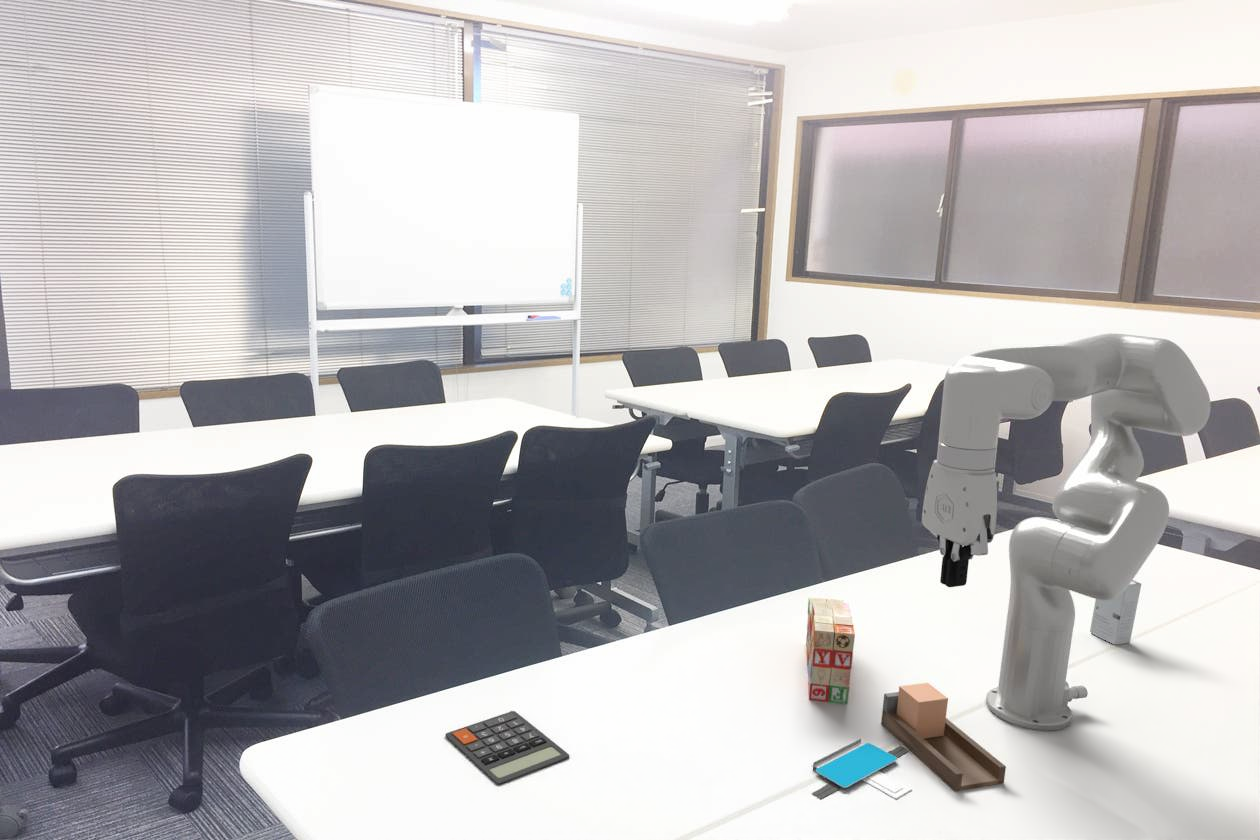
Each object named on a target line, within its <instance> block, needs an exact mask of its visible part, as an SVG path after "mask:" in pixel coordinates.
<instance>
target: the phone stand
mask: <svg viewBox="0 0 1260 840" xmlns="http://www.w3.org/2000/svg"><path fill="white" fill-rule="evenodd" d="M909 751H910V750H909V749H908V748H905V747H903V746H901V745H899V746H897V747H895V748H894V749H892V750H889V751H885V750H884V749H882V748H881V747H878V746H876V745H874V744H873V743H869V742H866V743H862V739H861V738H859V739H857V740H856V741H854V742H852V743H850V744H848V745H845V746H843V747H842V748H839V749H838V750H836V751H834V752H832V753H829V754H827V755H826V756H823V757H822V758H820V759H818V760H815V761H814V762H813V764H811V763H810V764H811V768H812V770H815V772H816V773H817V774H819V776H821V777H822V778H823V779H822V781H823V782H826V783H827V784H826V785H824V786H822V787H821V788H819V789H817V790H815V791H813V792H811V794H812V795H814V796H815V797H817V798H819V799H820V800H821V799H823V798H826V797H827V796H829V795H833V794H834V793H836V792H838V791H840V790H841V789H846V788H849V787H850V786H853V785H855V784H856V783H858V782H860V781H863V782H864V783H866V784H867V785H869V786H871V787H874V788H875V789H876V790H879V791H880V792H882V793H884V794H885V795H887V796H889V797H891V798H892V799H894V800H897V799H899V798H901V797H903V796H904V795H906V794H908V793H909V792H911V791H912V790H913V789H912V788H911V787H909V786H907V785H905V784H904V783H901V782H899V781H898V780H895V779H894V778H892V777H890V776H889V775H888V774H885V773H883V772H882V771H880V770H881V769H883V768H885V767H887V766H889V765H890V764H893V763H894V762H896V761H898V758H900V757H902V755H904V754H906V753H907V752H909Z"/></svg>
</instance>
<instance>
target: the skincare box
mask: <svg viewBox="0 0 1260 840" xmlns="http://www.w3.org/2000/svg"><path fill="white" fill-rule="evenodd" d="M1141 588H1142V582H1139V581H1137V580H1135V579H1133V580H1132V581H1131V583H1130V584H1129V585H1128V587H1127V588H1126V589H1125V591H1124V592H1123V593H1122V594H1121V595H1119V596H1118V597H1117V598H1115V599H1112V600H1098V599H1095V601H1094V607H1093V613H1092V617H1091V624H1090V628H1089V633H1090V632H1091V633H1090V634H1092V635H1094V636H1096V637H1098V638H1099V639H1102V640H1103V641H1105V640H1106V641H1105V642H1108V643H1109V642H1110V644H1111V643H1112V645H1124V644H1128V643H1130V642H1131V639H1132V634H1133V629H1134V623H1135V619H1136V613H1137V609H1138V603H1139V599H1140V593H1141Z"/></svg>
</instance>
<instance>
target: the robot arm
mask: <svg viewBox="0 0 1260 840" xmlns="http://www.w3.org/2000/svg"><path fill="white" fill-rule="evenodd" d="M1089 396H1091V397H1090V419H1091V420H1090V422H1091V423H1090V426H1091V431H1090V432H1091V433H1090V435H1091V436H1090V441H1089V444H1088V447H1087V449H1086V450H1085V452H1084V453H1083V455H1082V456H1081V457H1080V458H1079V460H1078V461H1077V463H1076V464H1075V465H1074V467H1073V468H1072V469H1071V470H1070V472H1069V474H1068V475H1067V476H1066V478H1065V479H1064V481H1063V482H1062V483H1061V484H1060V486H1059V488H1058V490H1057V491H1056V493H1055V494H1054V497H1053V500H1052V504H1051V505H1052V512H1053V514H1054V515H1055V517H1056V518H1057V519H1055V518H1050V517H1045V516H1044V517H1043V516H1033V517H1028V518H1026V519H1025V518H1024V519H1023V520H1021V521H1020V522H1018V524H1016V525H1015V526H1014V528H1013V530H1012V532H1011V535H1010V537H1009V542H1008V543H1009V544H1008V559H1009V568H1010V569H1009V571H1010V588H1009V589H1010V590H1009V600H1008V606H1007V607H1008V608H1007V617H1006V621H1005V623H1006V624H1005V630H1004V640H1003V647H1002V654H1001V655H1002V656H1001V663H1000V671H999V677H998V679H999V680H998V686H996V687H993V688H992V689H989V690H988V692H987V693H986V697H985V698H986V700H985V703H986V706H987V708H988V709H989V710H990V711H991V712H992V713H993V714H994V715H995V716H997V717H998V718H1000V719H1002V720H1004V721H1007V723H1011V724H1013V725H1015V726H1019V727H1023V728H1026V729H1031V730H1037V731H1057V730H1063V729H1064V728H1066V727H1069V725H1070V724H1072V723H1071V722H1072V720H1073V712H1072V710H1071V708H1070V706H1069V705H1068V704H1069V702H1071V701H1072V700H1077V699H1078V700H1079V699H1085V698H1087V697H1088V695H1089V693H1088V690H1087V687H1086V686H1084V685H1075V686H1071V687H1069V686H1070V685H1069V683H1068V682H1067V674H1068V666H1069V661H1070V653H1071V645H1072V639H1073V631H1074V626H1075V619H1076V608H1075V602H1074V599H1073V597H1072V593H1071V592H1074V593H1077V594H1079V595H1083V596H1086V597H1088V598H1092V599H1095V600H1096V599H1098V600H1112V599H1115V598H1117V597H1118V596H1119V595H1121V594H1122V593H1123V592H1124V591H1125V589H1126V588H1127V587H1128V585H1129V584H1130V583H1131V581H1132V580H1134V579H1135V577H1136V575H1137V574H1138V572H1139V571H1140V569H1141V568H1142V567H1143V565H1144V564H1145V563H1146V561H1147V559H1148V558H1149V557H1150V555H1151V554H1152V552H1153V550H1154V549H1155V547H1157V545H1158V543H1159V542H1160V540H1161V538H1162V536H1163V534H1164V533H1165V530H1166V528H1167V525H1168V521H1169V515H1170V505H1169V501H1168V498H1167V497H1166V495H1165V494H1164V493H1163V491H1162V490H1160V489H1159V488H1158V487H1155V486H1153V485H1151V484H1148V483H1145V482H1141V481H1139V480H1138V479H1139V477H1140V475H1141V474H1142V472H1143V470H1144V465H1145V461H1144V456H1143V452H1142V450H1141V447H1140V445H1139V443H1138V442H1137V439H1136V438H1135V436H1134V433H1133V428H1135V429H1139V430H1144V431H1145V430H1146V431H1149V432H1155V433H1160V434H1166V435H1171V436H1178V437H1188V436H1193V435H1194V434H1197V433H1198V432H1200V431H1201V430H1202V429H1203V428H1204V427H1205V426H1206V424H1207V422H1208V420H1209V417H1210V414H1211V397H1210V394H1209V391H1208V388H1207V386H1206V385H1205V382H1204V381H1203V380H1202V378H1201V375H1200V374H1199V373H1198V371H1197V368H1196V367H1195V365H1194V364H1193V362H1192V360H1191V359H1190V357H1189V356H1188V355H1187V353H1186V352H1185V351H1184V350H1183V349H1182V348H1181V347H1180V346H1179V345H1178V344H1176V343H1175V342H1173V341H1171V340H1169V339H1166V338H1161V337H1151V336H1142V335H1136V334H1135V335H1134V334H1127V333H1124V334H1123V333H1102V334H1097V335H1094V336H1088V337H1085V338H1081V339H1077V340H1072V341H1069V342H1065V343H1059V344H1057V343H1056V344H1044V345H1043V344H1041V345H1032V346H1019V347H1018V346H1017V347H1005V348H1004V347H1003V348H994V349H989V350H983V351H978V352H975V353H971V354H967V355H965V356H963V357H961V358H960V359H959V360H957V361H956V362H955V363H954V364H953V365H952V366H951V367H950V368H949V369H948V370H947V371H946V373H945V375H944V381H943V391H942V399H941V400H942V401H941V402H942V403H941V411H940V423H939V431H938V432H939V433H938V441H937V442H938V443H937V454H936V459H934V460H933V462H932V465H931V467H930V470H929V474H928V477H927V478H928V479H927V481H926V486H925V492H924V499H923V505H922V514H921V523H922V525H923V526H924V527H925V528H926V529H927V530H928V531H929V532H930V533H931V534H932V535H933V536H934V537H935V538H937V541H938V543H939V553H940V555H941V556H942V559H941V560H942V561H941V572H940V581H939V582H940V583H941V585H945V586H946V587H948V588H955V587H962V586H965V585H967V581H968V572H969V563H970V562H969V561H970V560H972V559H973V558H974V556H979V557H980V556H987V555H988V554H989V545H988V544H990V543H992V542H993V540H994V537H995V533H996V525H997V515H998V514H997V512H998V484H997V483H998V482H997V481H998V480H997V473H996V471H995V469H996V460H997V449H998V440H999V433H1000V431H999V429H1000V422H1001V420H1003V419H1011V420H1012V419H1013V420H1030V419H1034V418H1036V417H1038V416H1040V415H1042V414H1043V413H1044V412H1045V411H1047V410H1048V409H1049V408H1050V406H1051V404H1052V402H1072V401H1078V400H1081V399H1084V398H1087V397H1089ZM1137 480H1138V481H1137Z"/></svg>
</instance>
